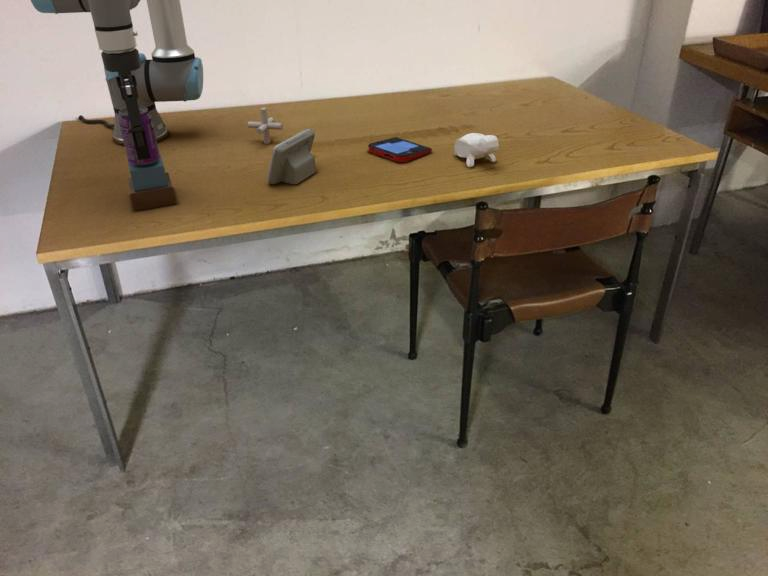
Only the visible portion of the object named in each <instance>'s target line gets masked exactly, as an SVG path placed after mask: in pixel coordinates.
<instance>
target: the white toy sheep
mask: <svg viewBox="0 0 768 576" xmlns="http://www.w3.org/2000/svg"><path fill="white" fill-rule="evenodd" d="M454 142H455V143H454V145H453V154H454V157H457V156H458V157H460V158H465V159H466V162H465V163H466V167H468V168H473V167H474V166H475V160H478V159H482V158H484V157H485V158H487V159H488V161H489V162H490V163H496V161H497V158H496V156H495V154H494V153H496V152H498V151H499V147H500V145H499V140H498V137H497V136H496V135H492V134H487V135H484V134H483V133H479V132H478V133H477V132H470V133H467V134H465V135H463V136H462V137H459V138H457V139H456V140H455V141H454Z"/></svg>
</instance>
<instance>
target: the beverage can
mask: <svg viewBox="0 0 768 576" xmlns="http://www.w3.org/2000/svg"><path fill="white" fill-rule="evenodd" d="M139 111H140V115H141V120H142V124H143V127H144V131H145V135H146V140H147V144H148V148H149V153H150V157H151V158H149V159H142V160H138V157H137V153H136V148H135V144H134V140H133V136H132V133H129V131H128V130H131V124H130V120H129V116H128V111H127V108H123V109H121V110H120V111H119V114H120V115H119V125H120V129H121V133H122V137H123V141H124V145H123V146H124V149H125V153H126V157H127V162H128V161H129V162H130V163H133V164H136V165H148V164H151V163H154V162H155V161H156V160H158V159H159V158H160V155H161V154H160V149H159V145H158V141H157V140H156V135H155V130H154V126H153V121H152V117H151V115H150V114H149V112H148V109H147V108H146V107H143V106H139Z"/></svg>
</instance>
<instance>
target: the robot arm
mask: <svg viewBox="0 0 768 576" xmlns="http://www.w3.org/2000/svg"><path fill="white" fill-rule="evenodd" d="M140 2H141V0H30V3H31V4H32V6H33V8H34V9H35V10H36V11H38V12H39V13H42V14H55V15H58V14H74V13H75V14H77V13H90V15H91V18H92V22H93V27H94V33H95V36H96V42H97V44H98V48H99V50H101V53H100V56H101V59H102V60H101V61H102V64H103V70H104V74H105V81H106V85H107V88H108V92H109V96H110V100H111V104H112V108H113V112H114V121H113V122H114V124H113V123H111V124H110V123H109V122H108V121H106V120H104V119H86V118H85V117H84V116H83V115H79V116H78V120H82V121H83V122H84V123H87V124H104V125H105V126H106V127H107V128H113V132H112V133H113V135H112V136H113V139H114V142H115V143H117V144H118V145H121V146H125V145H124V141H123V137H122V133H121V129H120V125H119V115H120V114H119V111H120V110H121V109H123V108H127V111H128V116H129V120H130V124H131V130H128V131H129V133H132V136H133V140H134V144H135V148H136V153H137V157H138V160H142V159H149V158H151V157H150V153H149V148H148V144H147V140H146V135H145V131H144V127H143V124H142V120H141V115H140V111H139V106H143V107H146V108H147V109H148V112H149V114H150V115H151V117H152V121H153V126H154V130H155V135H156V140H157V142H159V141H162V140H164V139H165V138H167V136H168V134H169V133H168V127H167V125H166V124H165V123H164V121H163V120H164V119H162V117H161V115H160V113H159V112H158V109H157V107H156V106H157V105H156V103H163V102H166V103H167V102H188V101H197V100H199V99H200V97H202V95H203V90H204V89H203V88H204V65H203V61H202V59H201V58H200V57H198V56H196V55H195V51H194V49H193V48H192V47H191V46H190V45H188V40H187V34H186V29H185V25H184V24H185V23H184V17H183V11H182V5H181V0H146V4H147V9H148V14H149V20H150V25H151V31H152V36H153V41H154V46H155V48H154V49H153V50H152V52H151V59H147V56H146V55H145V53H142V52H141V53H140V52H139V50H138V48H137V46H138V45H137V40H136V39H137V38H136V37H137V36H138V31H136V30H134V25H133V20H132V15H131V10H133V9H135V8H137V7H138V6H139V3H140Z"/></svg>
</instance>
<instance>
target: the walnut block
mask: <svg viewBox="0 0 768 576" xmlns="http://www.w3.org/2000/svg"><path fill="white" fill-rule="evenodd" d="M165 174H166V179H167V183H168V186H162V187H156V188H150V189H144V190H137V191H134V186H133V182H132V178H131V177H130V178H127V182H128V189H129V195H130V199H131V203H132V206H133V211H134V212H138V211H143V210H150V209H156V208H160V207H166V206H167V207H168V206H172V205H173V206H174V205H177V201H176V200H177V199H176V195H175V192H174V191H175V190H174V187H173V184H172V180H171V176H170V172H168V171H167V172H165Z"/></svg>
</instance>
